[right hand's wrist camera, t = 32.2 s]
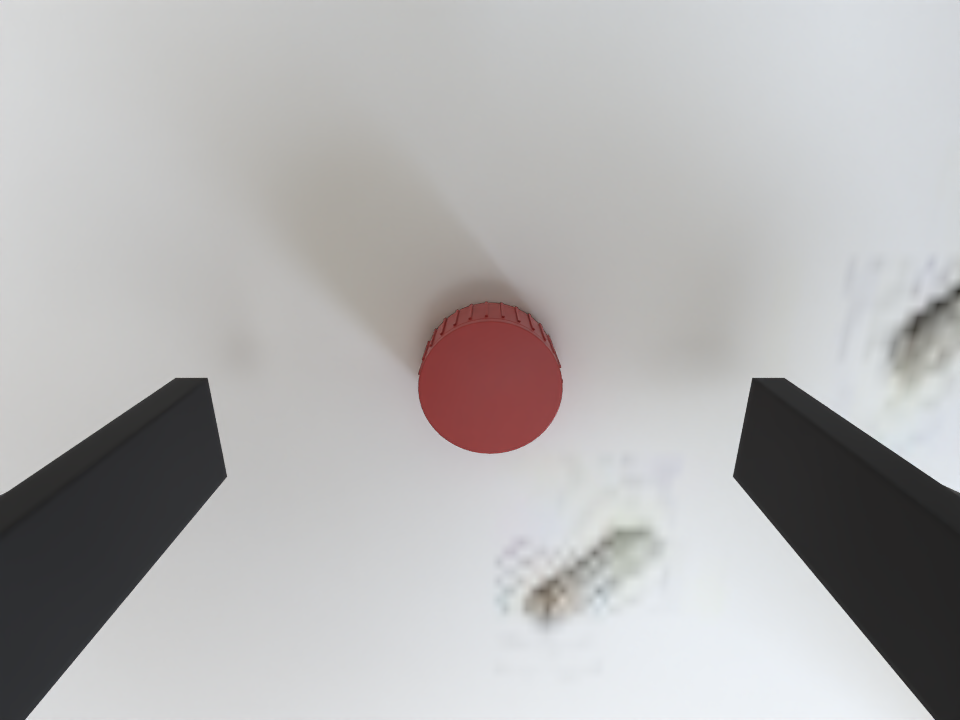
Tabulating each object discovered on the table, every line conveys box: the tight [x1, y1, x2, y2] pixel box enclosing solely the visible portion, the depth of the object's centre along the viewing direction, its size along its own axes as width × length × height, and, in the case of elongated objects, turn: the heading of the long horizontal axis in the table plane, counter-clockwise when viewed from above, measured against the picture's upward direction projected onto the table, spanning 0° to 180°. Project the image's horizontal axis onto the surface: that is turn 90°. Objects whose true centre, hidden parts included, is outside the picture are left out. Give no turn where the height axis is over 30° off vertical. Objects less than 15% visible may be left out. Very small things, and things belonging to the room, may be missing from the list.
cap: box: [418, 302, 563, 454], centre depth 16 cm, size 4×4×2 cm
